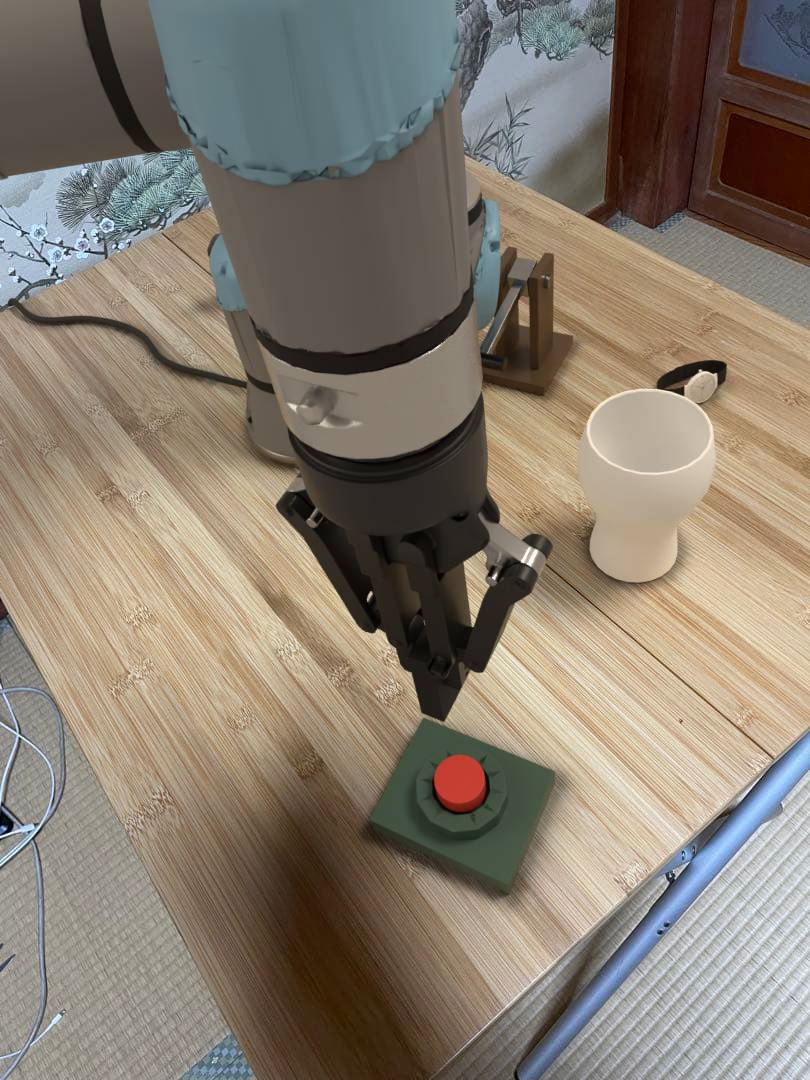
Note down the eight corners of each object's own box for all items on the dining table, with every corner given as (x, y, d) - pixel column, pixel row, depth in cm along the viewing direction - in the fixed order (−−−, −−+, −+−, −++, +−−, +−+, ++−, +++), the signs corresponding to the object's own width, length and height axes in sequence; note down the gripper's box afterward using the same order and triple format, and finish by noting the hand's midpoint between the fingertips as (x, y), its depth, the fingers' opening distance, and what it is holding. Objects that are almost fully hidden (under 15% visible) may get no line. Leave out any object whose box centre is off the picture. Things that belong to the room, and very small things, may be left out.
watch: (669, 417, 85) (674, 390, 83) (644, 390, 88) (647, 363, 85) (734, 391, 86) (741, 364, 84) (708, 365, 89) (713, 338, 87)
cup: (667, 614, 71) (691, 499, 59) (553, 569, 76) (555, 454, 64) (711, 527, 76) (741, 405, 64) (602, 490, 81) (611, 369, 69)
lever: (503, 378, 81) (500, 362, 79) (457, 367, 83) (453, 352, 81) (551, 279, 86) (550, 262, 84) (506, 272, 88) (504, 254, 85)
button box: (373, 830, 63) (365, 811, 60) (426, 729, 67) (420, 706, 64) (509, 895, 59) (507, 878, 56) (555, 782, 63) (555, 761, 60)
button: (428, 800, 60) (425, 791, 59) (449, 757, 62) (447, 747, 61) (473, 820, 59) (472, 811, 57) (493, 776, 61) (492, 766, 59)
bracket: (543, 395, 90) (543, 294, 80) (476, 379, 93) (467, 280, 83) (573, 344, 94) (576, 243, 84) (507, 330, 97) (503, 231, 87)
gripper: (186, 424, 32) (317, 711, 50) (504, 519, 27) (521, 799, 45) (289, 308, 35) (376, 614, 54) (585, 371, 31) (570, 685, 49)
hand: (442, 698), depth 49 cm, fingers closed
